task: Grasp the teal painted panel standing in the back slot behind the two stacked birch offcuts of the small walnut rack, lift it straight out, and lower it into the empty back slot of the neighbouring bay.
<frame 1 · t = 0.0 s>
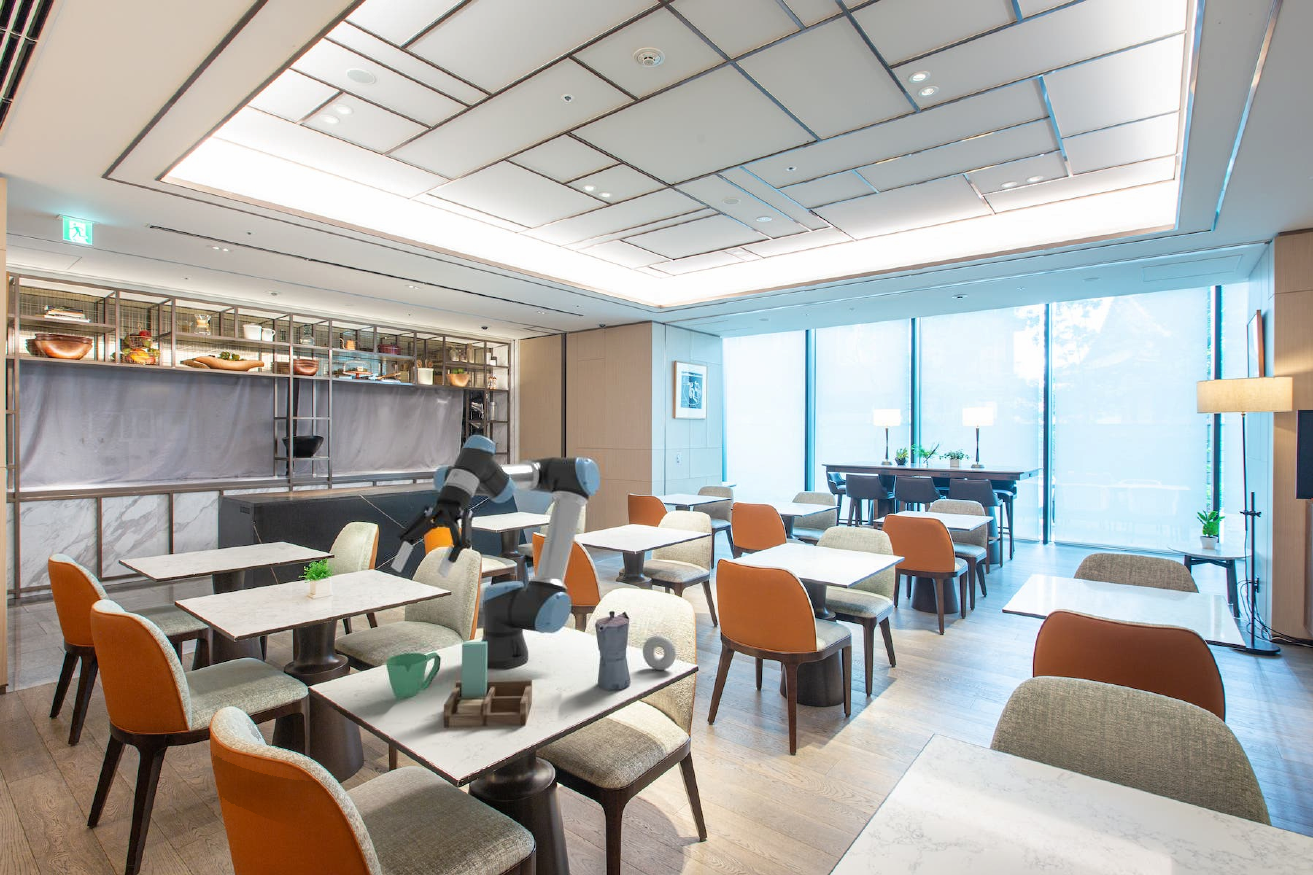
hand: (418, 572, 144), 36 cm above the table, tool tilted 35°, fingers open, 13 cm apart
panel: (474, 710, 152), point 1 cm above the table, touching rack
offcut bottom: (469, 720, 147), point 1 cm above the table, touching offcut top, rack
rack: (489, 721, 150), on the table
mug: (414, 696, 165), on the table
offcut top: (470, 711, 147), point 3 cm above the table, touching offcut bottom
moka pot: (613, 684, 174), on the table
donut: (659, 670, 185), on the table
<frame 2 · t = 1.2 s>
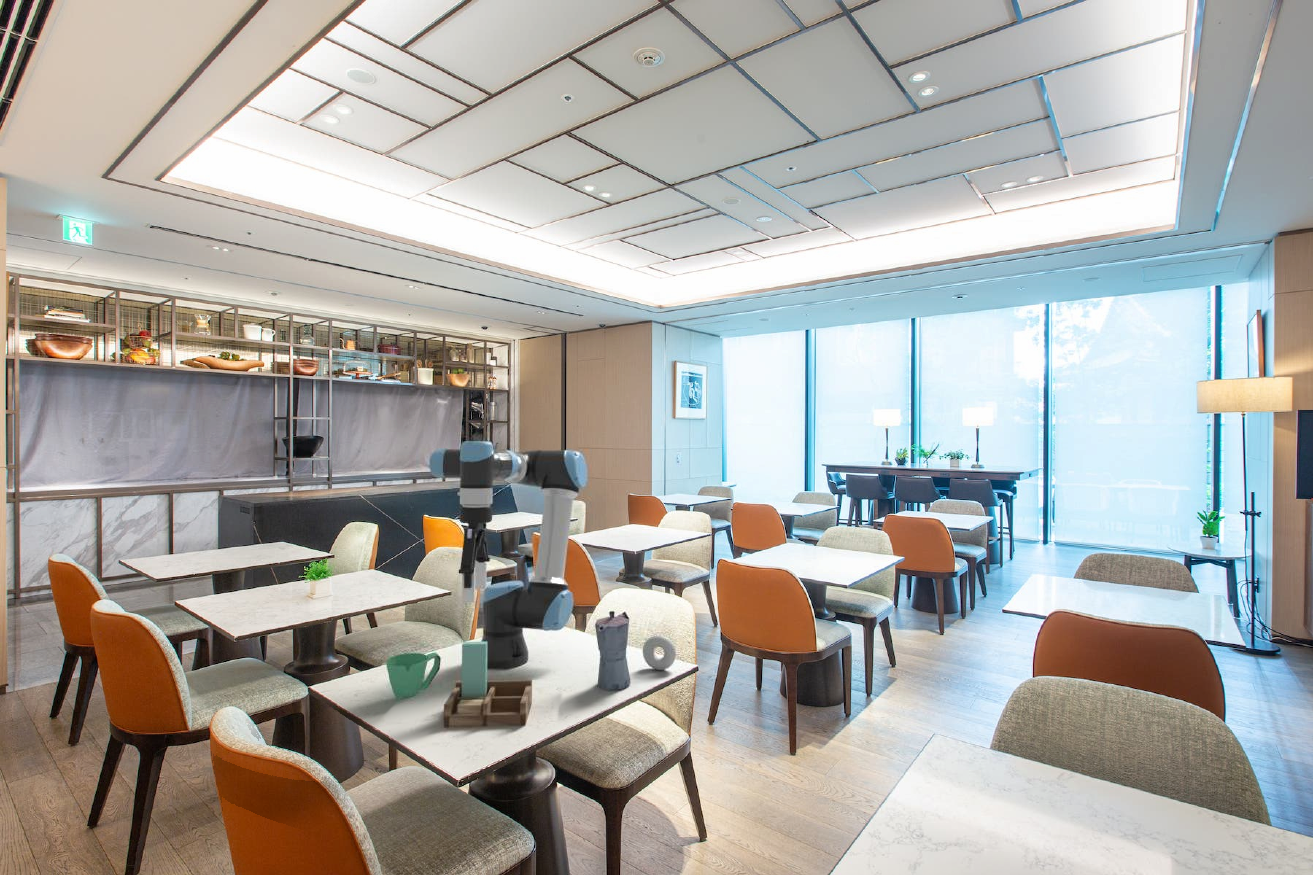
hand: (474, 595, 152), 29 cm above the table, tool pointing down, fingers open, 13 cm apart
nothing on the table moved.
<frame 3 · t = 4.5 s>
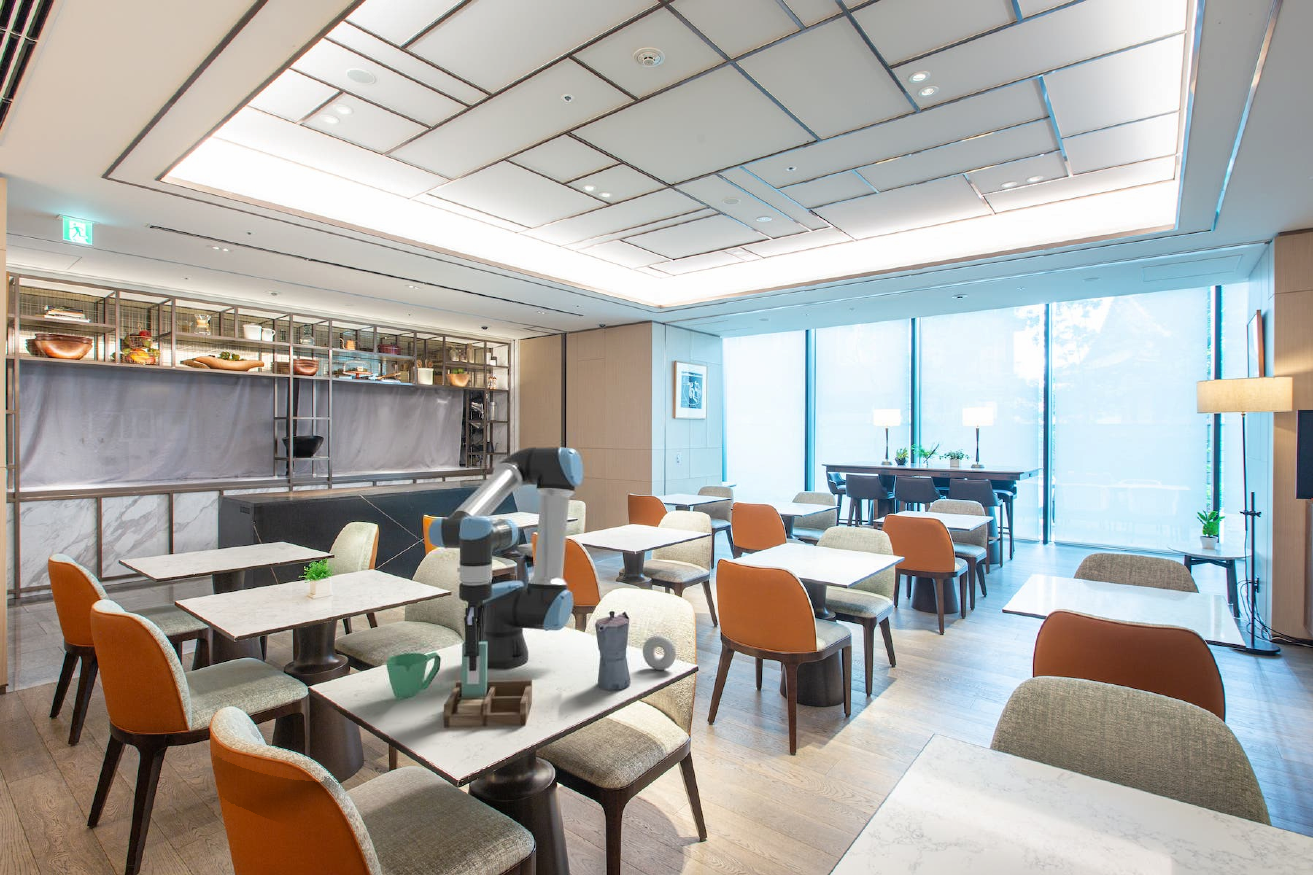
hand: (474, 680, 152), 8 cm above the table, tool pointing down, fingers closed on panel, 2 cm apart
panel: (474, 710, 152), point 2 cm above the table, touching gripper
everything else where it was.
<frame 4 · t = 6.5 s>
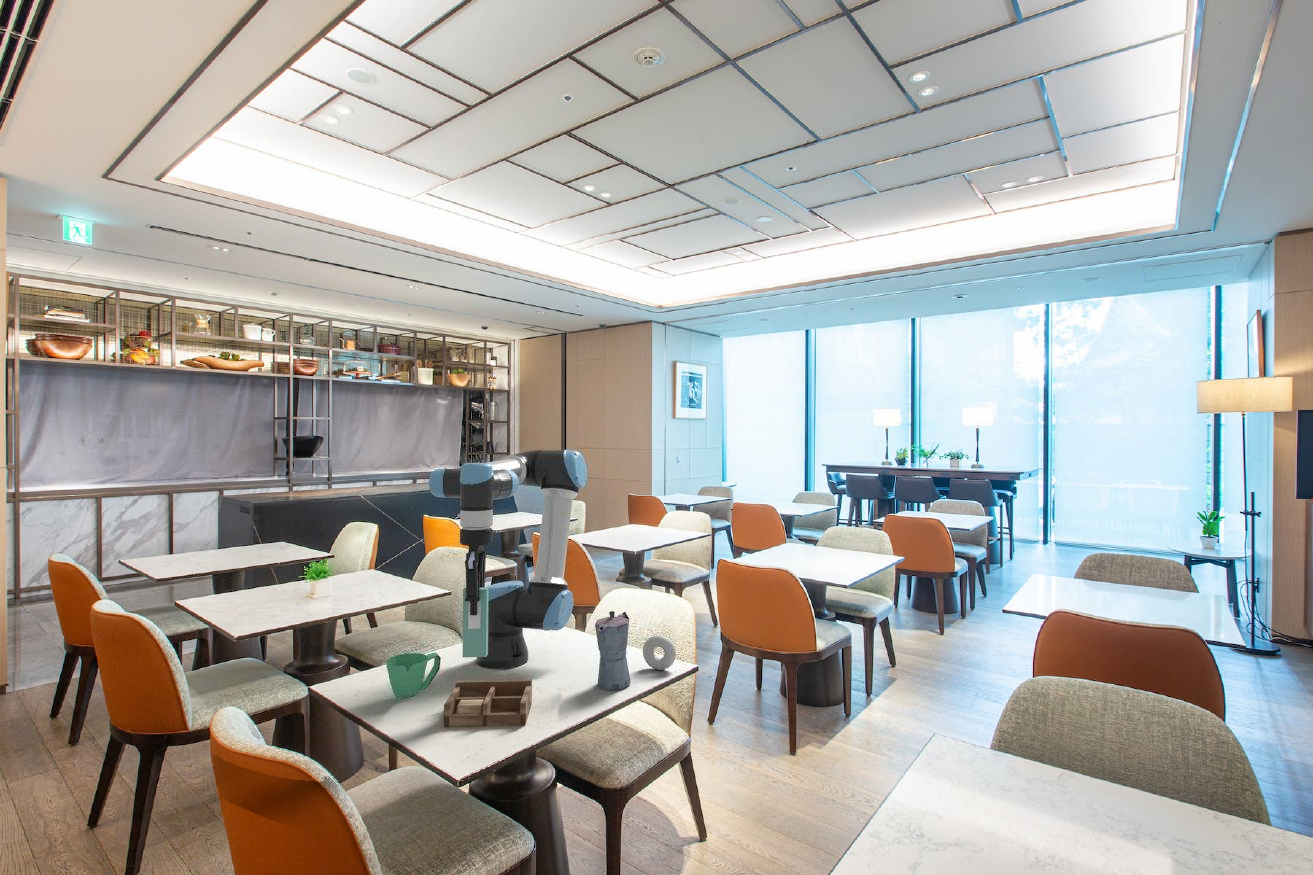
hand: (475, 626, 153), 21 cm above the table, tool pointing down, fingers closed on panel, 2 cm apart
panel: (475, 655, 152), point 14 cm above the table, touching gripper
everything else where it was.
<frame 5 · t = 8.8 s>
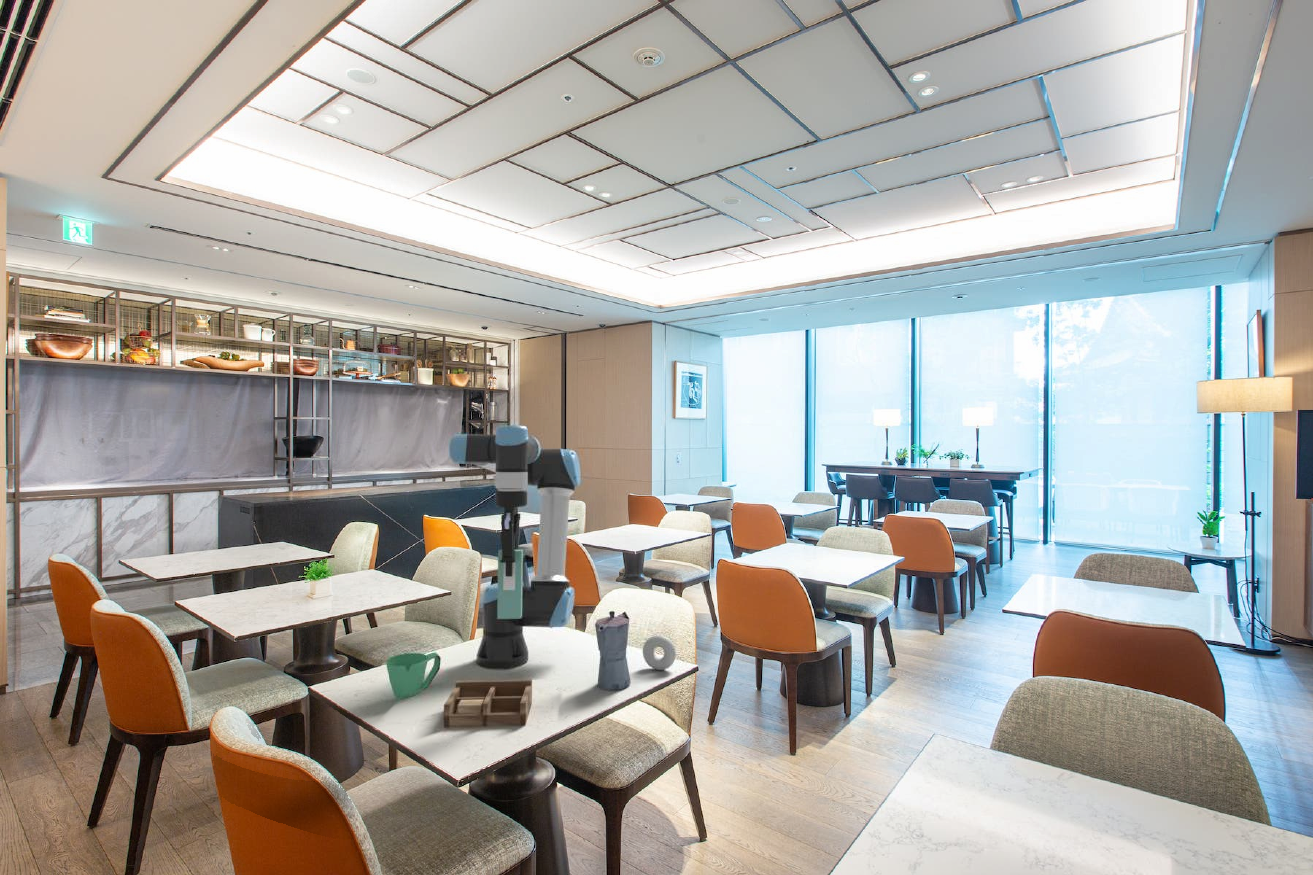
hand: (510, 588, 153), 30 cm above the table, tool pointing down, fingers closed on panel, 2 cm apart
panel: (509, 617, 153), point 23 cm above the table, touching gripper
everything else where it was.
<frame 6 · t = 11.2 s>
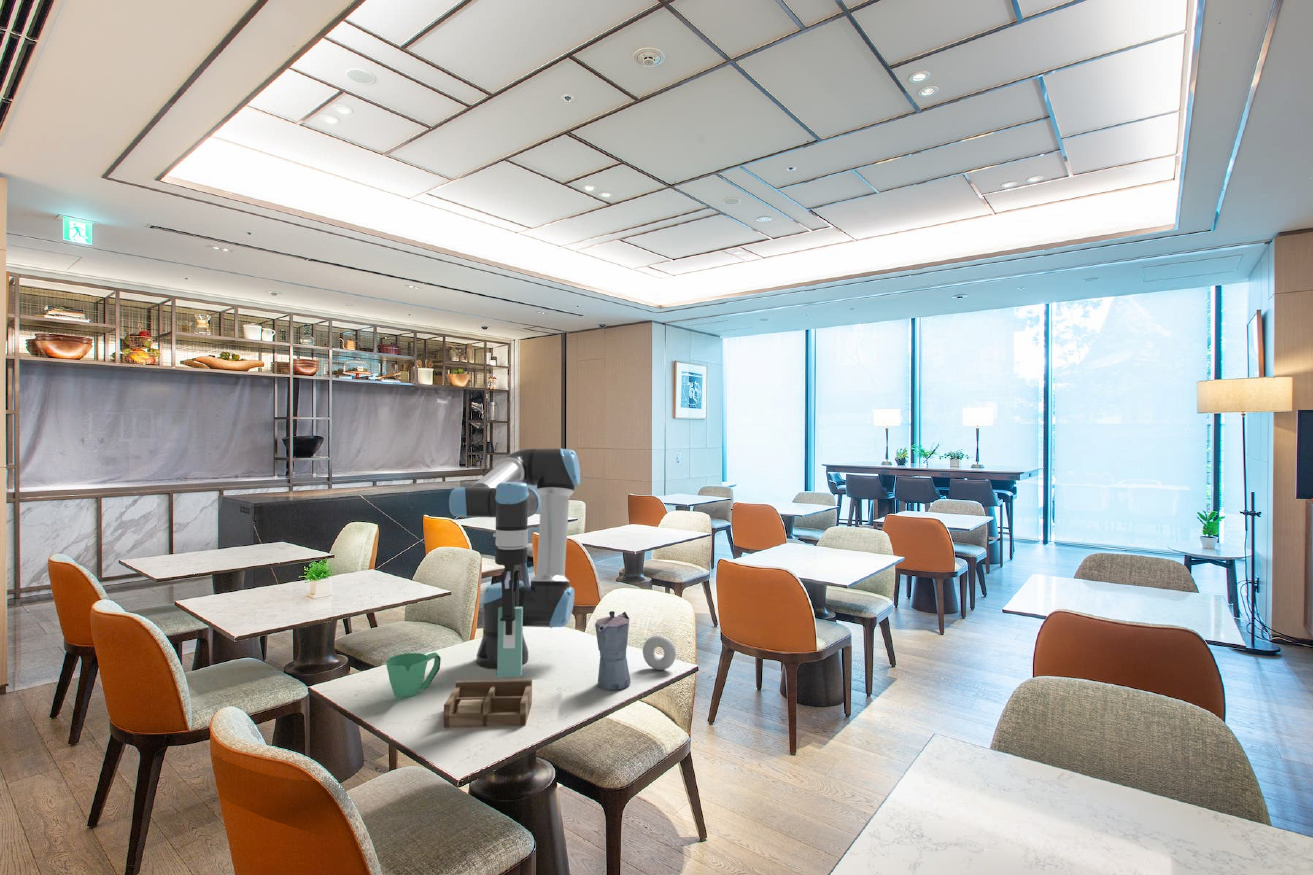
hand: (510, 645, 153), 17 cm above the table, tool pointing down, fingers closed on panel, 2 cm apart
panel: (509, 675, 153), point 10 cm above the table, touching gripper
everything else where it was.
when the fingers open (10 cm above the table, at t = 13.2 s): panel drops 1 cm, resting on rack.
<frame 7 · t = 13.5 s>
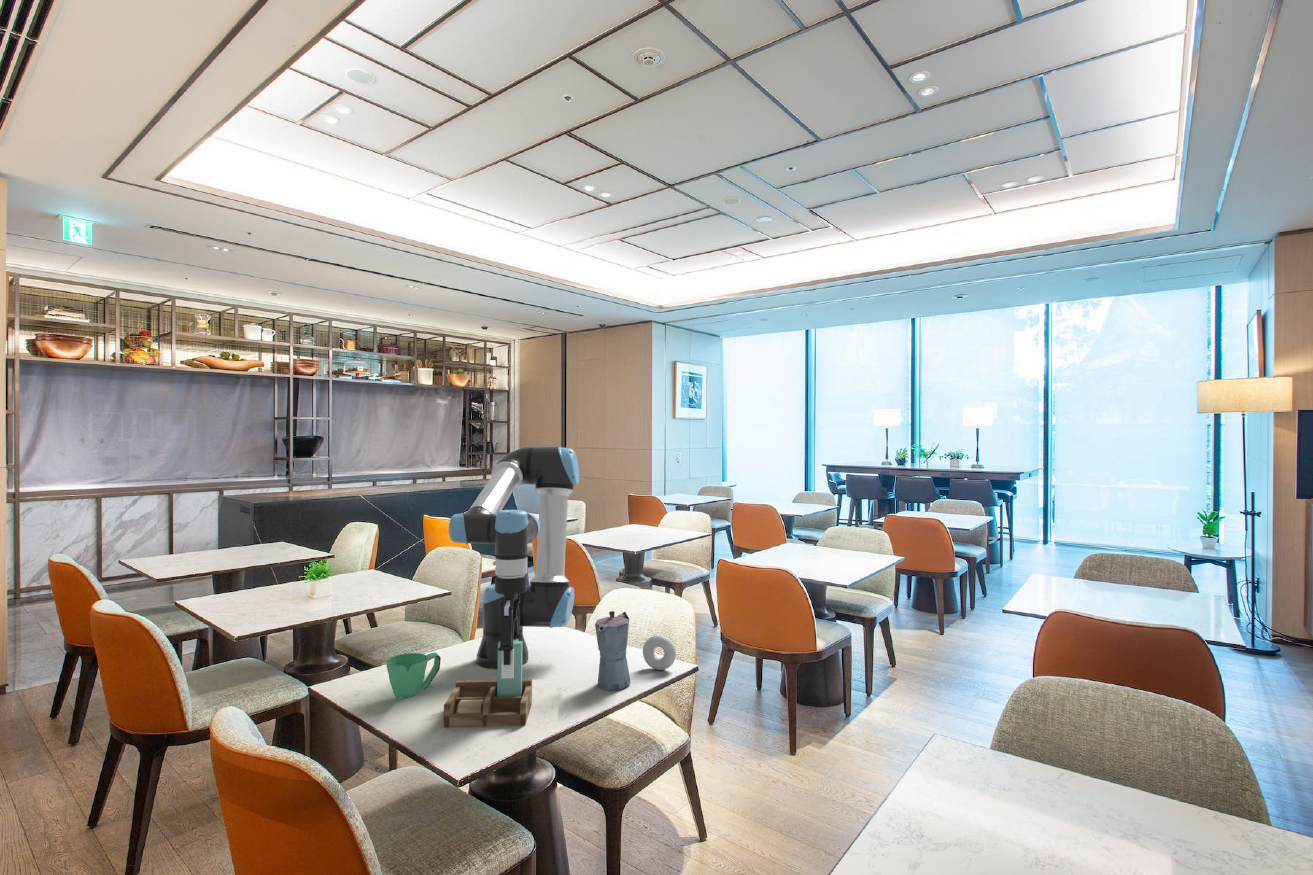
hand: (510, 671, 153), 11 cm above the table, tool pointing down, fingers open, 7 cm apart
panel: (509, 709, 153), point 1 cm above the table, touching rack
everything else where it was.
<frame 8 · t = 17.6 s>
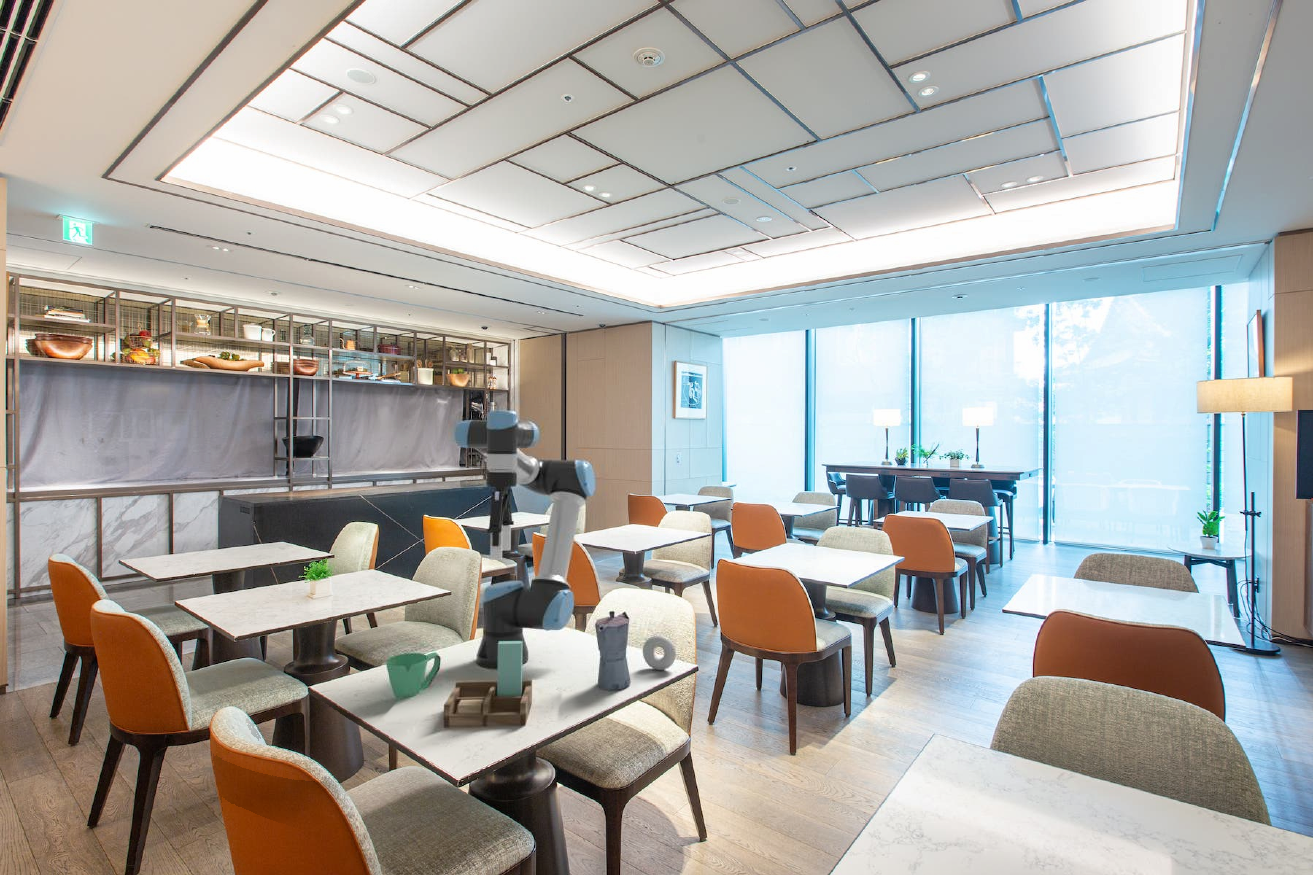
hand: (500, 554, 163), 37 cm above the table, tool pointing down, fingers open, 13 cm apart
nothing on the table moved.
at the end: panel 0.4 cm from the target spot on the rack, point 1.5 cm above the rack's base; panel tilted 0°; offcut top moved 0.0 cm from its start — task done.
